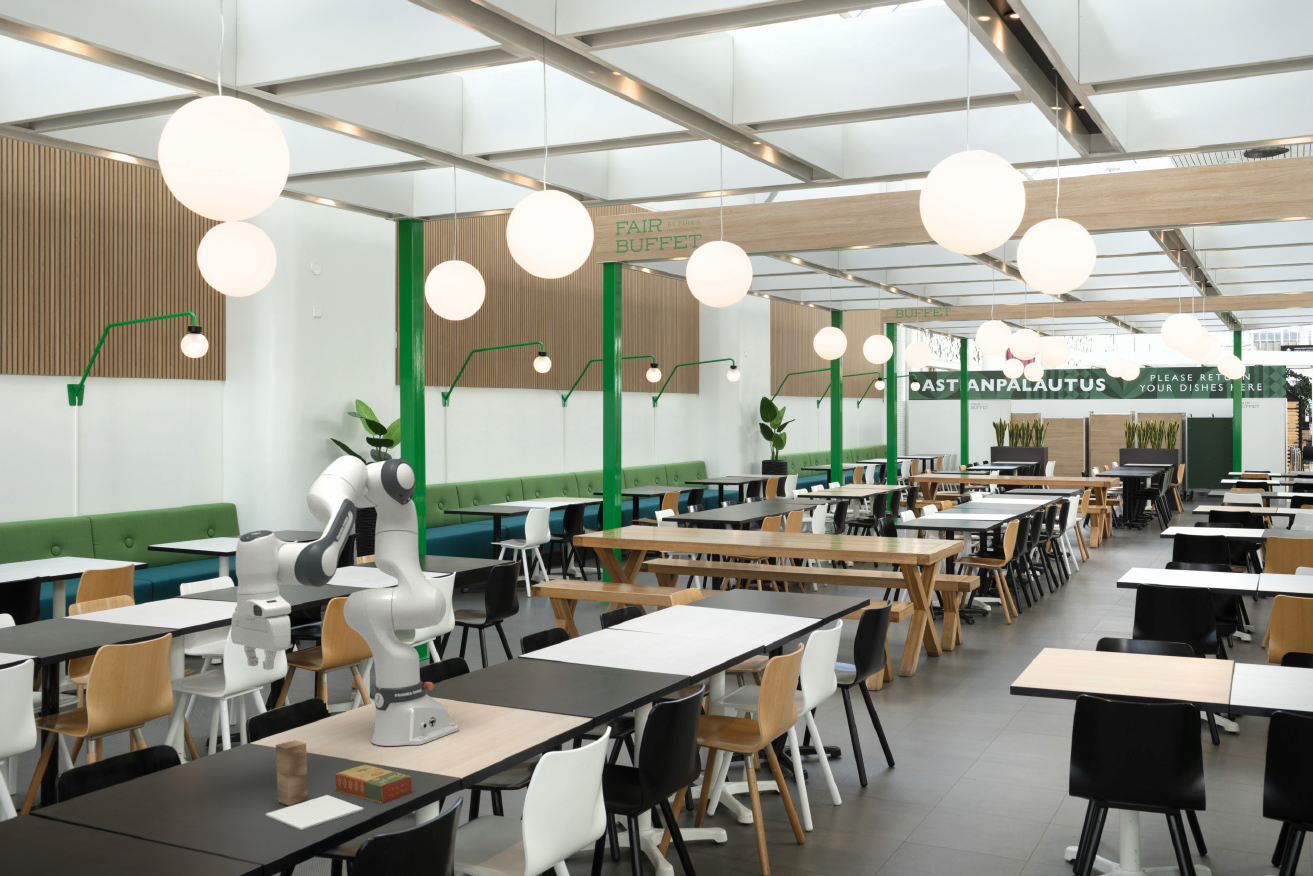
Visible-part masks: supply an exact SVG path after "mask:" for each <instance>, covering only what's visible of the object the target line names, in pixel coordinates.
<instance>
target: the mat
mask: <svg viewBox="0 0 1313 876" xmlns="http://www.w3.org/2000/svg"><path fill="white" fill-rule="evenodd" d="M364 809H365V808H364V807H362V806H359V805H357V804H353V803H351V802H348V801H346V800H343V799H339V798H337V797H334V796H331V795H329V794H325V795H322V796H319V797H317V798H312V799H308V800H306V801H302V802H299V803H296V804H293V805H289V806H286V807H283V808H279V809H277V810H273V811H270V812H267V813H265V816H266V817H268V818H270V819H273V820H274V821H277V822H280V823H283V824H284V825H287V826H290V827H292V828H295V829H296V830H298V831H299V830H300V831H304V830H306V829H309V828H313V827H315V826H318V825H322V824H325V823H328V822H331V821H334V820H337V819H339V818H344V817H346V816H349V815H353V814H356V813H358V812H362V811H364Z"/></svg>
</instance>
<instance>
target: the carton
mask: <svg viewBox="0 0 1313 876" xmlns="http://www.w3.org/2000/svg"><path fill="white" fill-rule="evenodd" d="M412 782H413V781H412V776H411V775H408V774H403V773H401V772H397V771H392V770H388V769H384V768H381V767H377V766H373V765H368V764H363V765H359V766H355V767H352V768H349V769H345V770H343V771H340V772H337V773H335V790H336V792H339V793H342V794H346V795H349V796H353V797H356V798H359V799H360V798H361V799H364V800H367V801H372V802H374V803H378V804H385V803H388V802H390V801H393V800H396V799H398V798H401V797H404V796H407V795H409V794H412V791H413V790H412V785H413V784H412Z"/></svg>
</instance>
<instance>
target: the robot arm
mask: <svg viewBox="0 0 1313 876" xmlns="http://www.w3.org/2000/svg"><path fill="white" fill-rule="evenodd" d="M416 480H417V479H416V474H415V471H414V469H413V467H412V465H411V464H410V463H409V462H408V461H407V460H405V459H402V458H389V459H387V460H382V461H375V462H373V463H369V464H365V463H364V461H362V459H360V458H358V457H356V456H354V455H349V454H348V455H342V456H340V457H338V458H337V459H335V460H333V462H331V463H330V464H329V465H328V466H327V467H326V468H325V469H324V470H323V471H322V472H321V474H319V476H318V477H317V478H316V479H315V481H314V482H313V483H312V485H311V486H310V488H309V490H308V492H307V495H306V502H307V507H308V509H309V511H310V513H311V514H312V515H313V516H314V518H316V519H317V520H318V521H319V522H321V523H323V524H326V526H325V528H324V530H323V532H322V535H321V537H319V538H318V539H316V540H313V541H309V542H286V541H283V540H281V539H280V538H277V537H276V535H275V534H274V532H273V531H271V530H263V529H262V530H256V531H250V532H247V533H244V534H242V535H241V536H240V537H239V539H238V540H237V543H236V550H235V551H236V552H235V575H236V577H237V589H236V607H234V608H235V609H234V612H233V613H232V616H231V626H230V627H231V629H230V630H231V631H230V635H231V636H230V639H231V641H232V643H233V644H235V645H240V646H243V650H244V653H245V656H246V658H247V659H246V660H247V665H248V666H249V667H257V666H258V665H259V657H258V656H257V654H256V649H260V650H264V652H263V654H264V655H265V658H264V661H262V667H263V669H264V670H266V671H269V670H273V669H275V659H276V656H277V652H280V651H286V650H288V649H289V647H290V645H291V638H292V637H291V635H292V634H291V632H292V631H291V629H292V628H291V618H290V616H289V614H291V612H292V606H291V604H290V603H289V602H288V601H287V600H285V599H284V598H283V597H282V596H281V594H280V587H279V586H280V585H283V586H284V585H285V586H307V587H315V588H319V587H320V588H321V587H324V586H325V585H327V584H329V582H330V581H331V580H332V579H333V578H334V576H335V575H336V572H337V569H338V564H339V562H340V561H339V560H340V556H341V554H342V552H343V550H344V548H345V546H346V543H347V541H348V540H349V536H350V535H351V533H352V530H353V528H354V526H355V523H356V519H357V510H364V509H366V508H374V509H375V512H376V514H377V515H376V523H375V533H374V535H375V536H374V564H375V567H376V568H377V569H378V570H379V571H380V572H382V573H384V574H386V575H388V576H390V577H393V578H394V579H397V586H394V587H381V588H380V587H376V588H375V587H374V588H366V589H363V590H358V591H354V592H352V593H351V594H349V596H348V597H347V599H346V601H345V603H344V605H343V617H344V620H345V622H346V624H347V626H348V627H349V628H351V630H353V631H354V632H356V633H358V634H359V636H361V637H362V638H363V639H364V640H365V642H366V643H367V645H368V647H369V649H370V650H371V653H372V657H373V664H374V671H375V673H374V674H375V675H374V676H375V685H374V689H373V690H374V693H373V694H374V704H375V705H374V706H375V718H374V727H373V732H372V736H371V741H370V742H371V743H372V744H373V745H377V746H385V747H386V746H387V747H393V746H394V747H395V746H396V747H398V746H409V745H412V746H417V745H423V744H426V743H429V742H431V741H434V740H437V739H440V738H443V737H444V736H447V735H450V734H452V733H455V732H458V731H459V729H460V728H459V726H458V724H457V723H455V722H452V721H450V716H449V713H448V709H447V708H446V706H445V705H444V704H442V703H440V702H439V701H437V700H436V699H435V698H433V697H431V696H429V695H428V694H427V692H426V690H428V691H432V690H433V689H434V686H435V685H434V683H433V682H431V681H426V682H424V681H422V680H421V677H420V676H421V675H420V655H419V653H418V650H417V649H416V648H415V647H414V646H413V645H410V644H409V643H407V642H404V641H402V640H399V639H398V637H397V636H396V634H395V631H401V630H402V631H403V630H421V629H425V628H429V627H434V626H437V625H439V624H440V623H441V622H442V621H443V619H444V618H445V615H446V612H447V601H446V598H445V596H444V594H443V592H442V591H441V590H440V589H439V588H437V587H436V586H435V585H434V584H432V583H431V582H430V581H429V580H428V579H427V577H426V576H425V574H424V572H423V570H422V568H421V565H420V556H419V525H418V515H417V514H418V513H417V509H416V505H415V502H414V501H413V499H412V498H413V497H414V493H415V488H416Z"/></svg>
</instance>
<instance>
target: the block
mask: <svg viewBox="0 0 1313 876" xmlns="http://www.w3.org/2000/svg"><path fill="white" fill-rule="evenodd" d="M307 755H308V754H307V743H306V742H304V741H300V740H297V739H294V740H291V741H290V740H289V741H287V742H282V743H279V744H275V759H276V760H275V762H276V781H277V782H276V784H277V785H276V789H277V792H276V793H277V802H278V803H280V804H283V805H286V806H287V807H289V806H293V805H296V804H299V803H302V802H306V801H309V787H308V786H309V784H308V783H309V781H308V758H307V757H308V756H307Z"/></svg>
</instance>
